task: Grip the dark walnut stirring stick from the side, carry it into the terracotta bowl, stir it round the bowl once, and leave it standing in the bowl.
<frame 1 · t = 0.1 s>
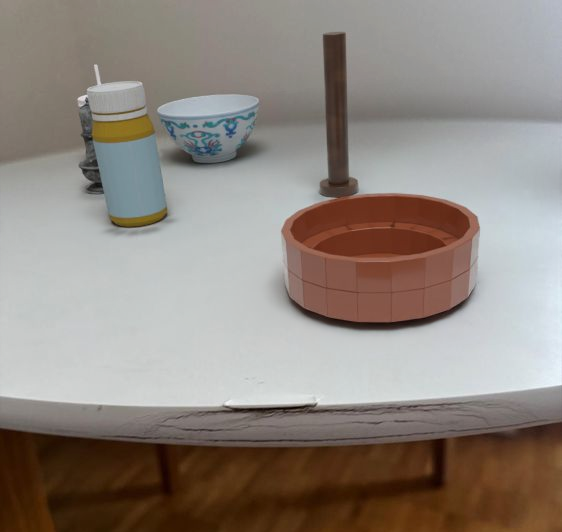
smoothie: (111, 162, 109), on the table
bowl: (378, 287, 62), on the table
bottle: (139, 219, 84), on the table
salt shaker: (105, 189, 96), on the table
chinaware: (214, 158, 106), on the table
stirring stick: (339, 191, 87), on the table
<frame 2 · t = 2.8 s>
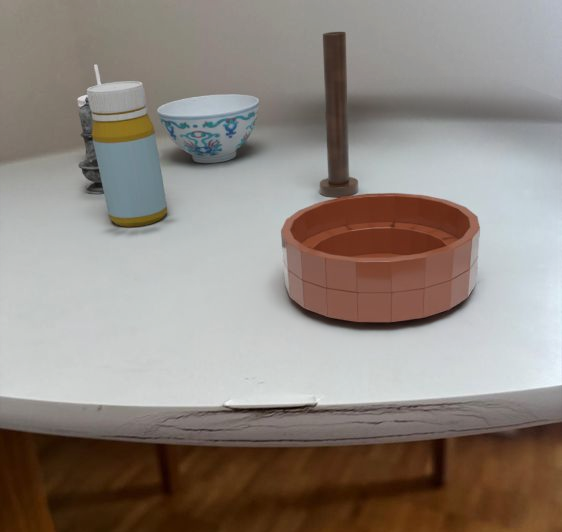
nothing on the table moved.
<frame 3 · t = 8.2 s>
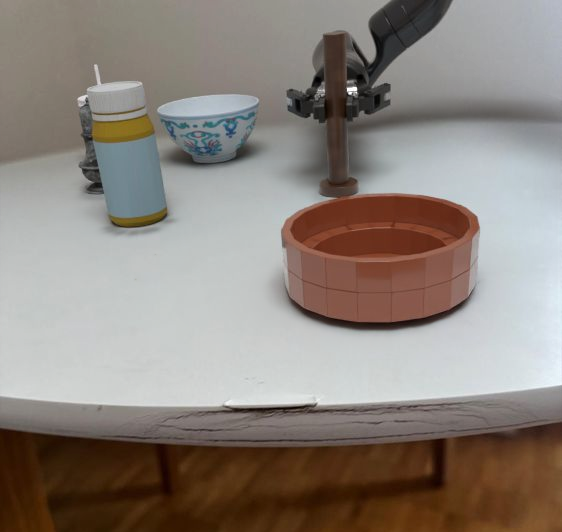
hand: (335, 113, 80), 10 cm above the table, tool horizontal, fingers closed on stirring stick, 2 cm apart
stirring stick: (339, 191, 87), on the table, touching gripper
everything else where it was.
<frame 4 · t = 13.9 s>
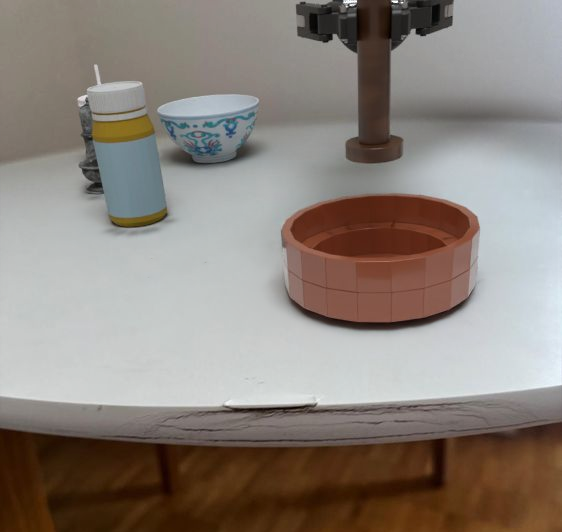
hand: (373, 27, 50), 21 cm above the table, tool horizontal, fingers closed on stirring stick, 2 cm apart
stirring stick: (374, 155, 58), point 11 cm above the table, touching gripper
everything else where it was.
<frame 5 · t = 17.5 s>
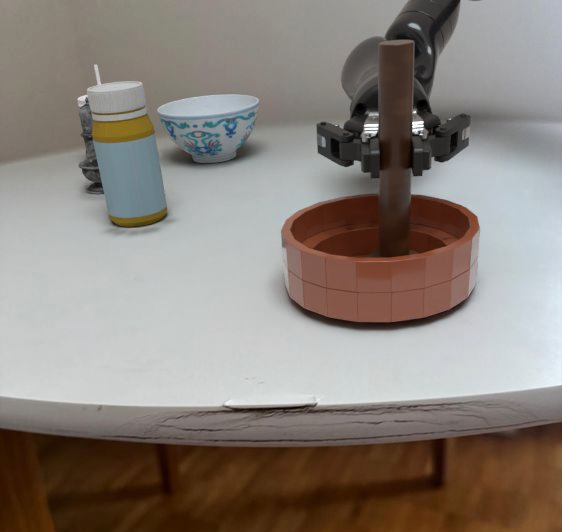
hand: (396, 164, 52), 12 cm above the table, tool horizontal, fingers closed on stirring stick, 2 cm apart
stirring stick: (393, 271, 60), point 2 cm above the table, touching gripper
everything else where it was.
when the fingers open (11 cm above the table, at t = 20.1 s): stirring stick stays where it is, resting on bowl.
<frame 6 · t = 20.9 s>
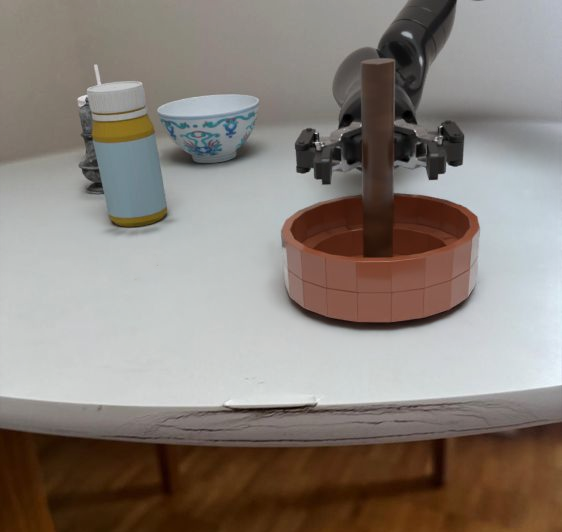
hand: (379, 170, 55), 11 cm above the table, tool horizontal, fingers open, 8 cm apart
stirring stick: (378, 278, 62), point 1 cm above the table, touching bowl
everything else where it was.
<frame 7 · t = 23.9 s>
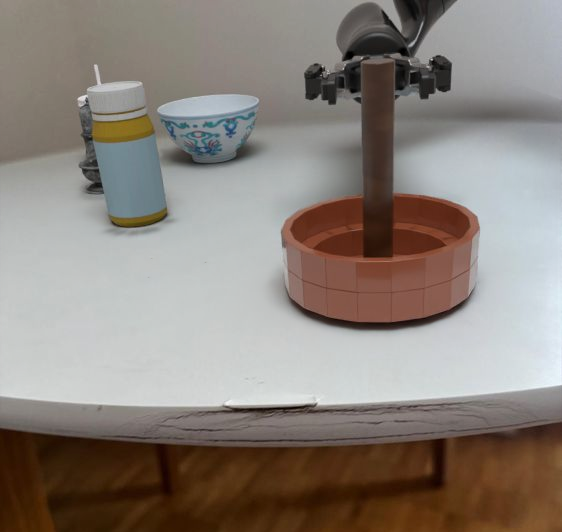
hand: (377, 90, 64), 15 cm above the table, tool horizontal, fingers open, 8 cm apart
nothing on the table moved.
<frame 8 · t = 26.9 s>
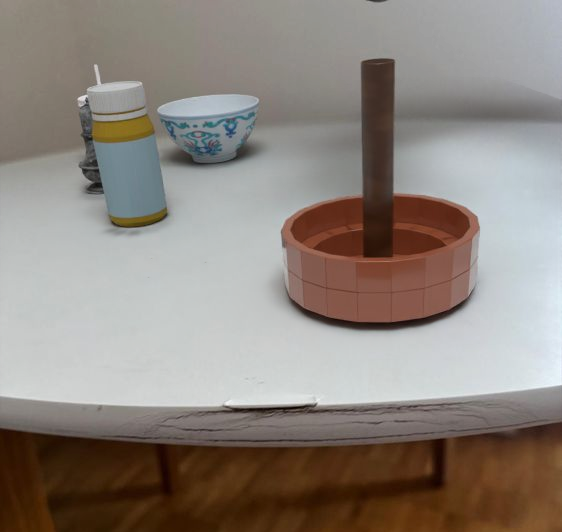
nothing on the table moved.
at the end: stirring stick inside the target area in the bowl (0.1 cm from its centre), point 0.8 cm above the bowl's base; stirring stick tilted 0°; the gripper is holding nothing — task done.
